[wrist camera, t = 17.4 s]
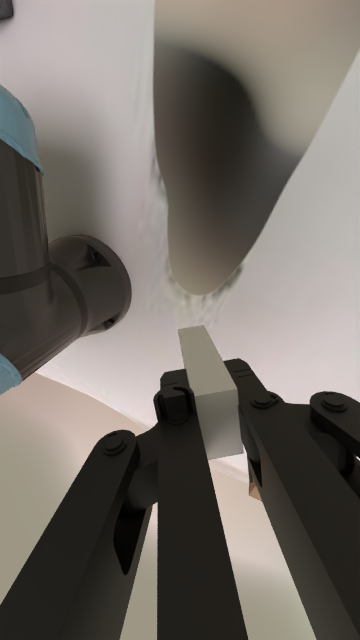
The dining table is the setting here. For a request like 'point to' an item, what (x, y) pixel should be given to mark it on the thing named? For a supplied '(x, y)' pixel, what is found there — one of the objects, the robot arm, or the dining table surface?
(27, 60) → the dining table surface
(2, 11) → the juice carton
